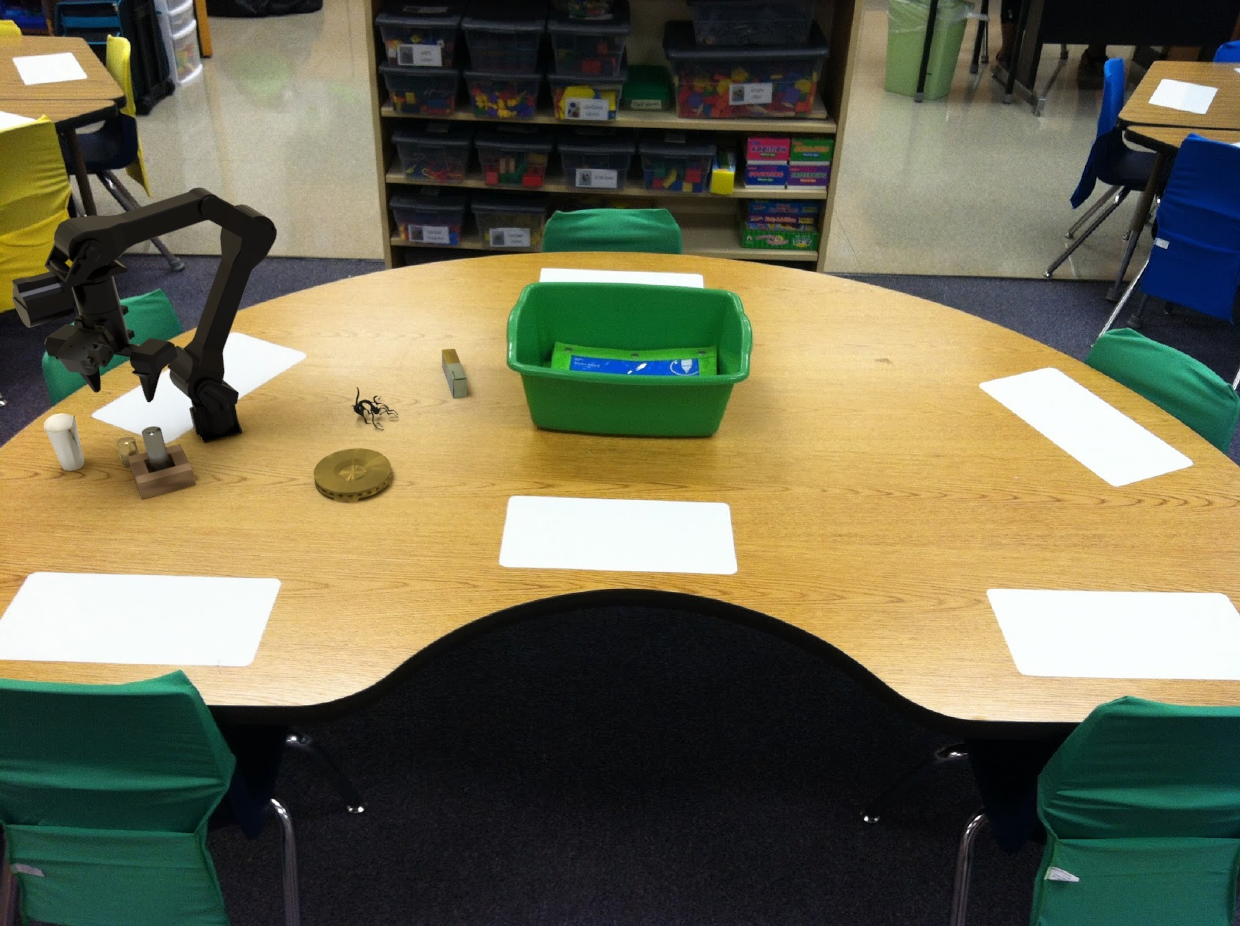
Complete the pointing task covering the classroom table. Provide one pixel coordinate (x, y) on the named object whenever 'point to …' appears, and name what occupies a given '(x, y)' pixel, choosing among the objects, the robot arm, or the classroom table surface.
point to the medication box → (454, 373)
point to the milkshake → (65, 440)
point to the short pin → (127, 449)
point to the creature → (373, 408)
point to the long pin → (155, 448)
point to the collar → (162, 473)
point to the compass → (352, 474)
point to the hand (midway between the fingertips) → (124, 396)
